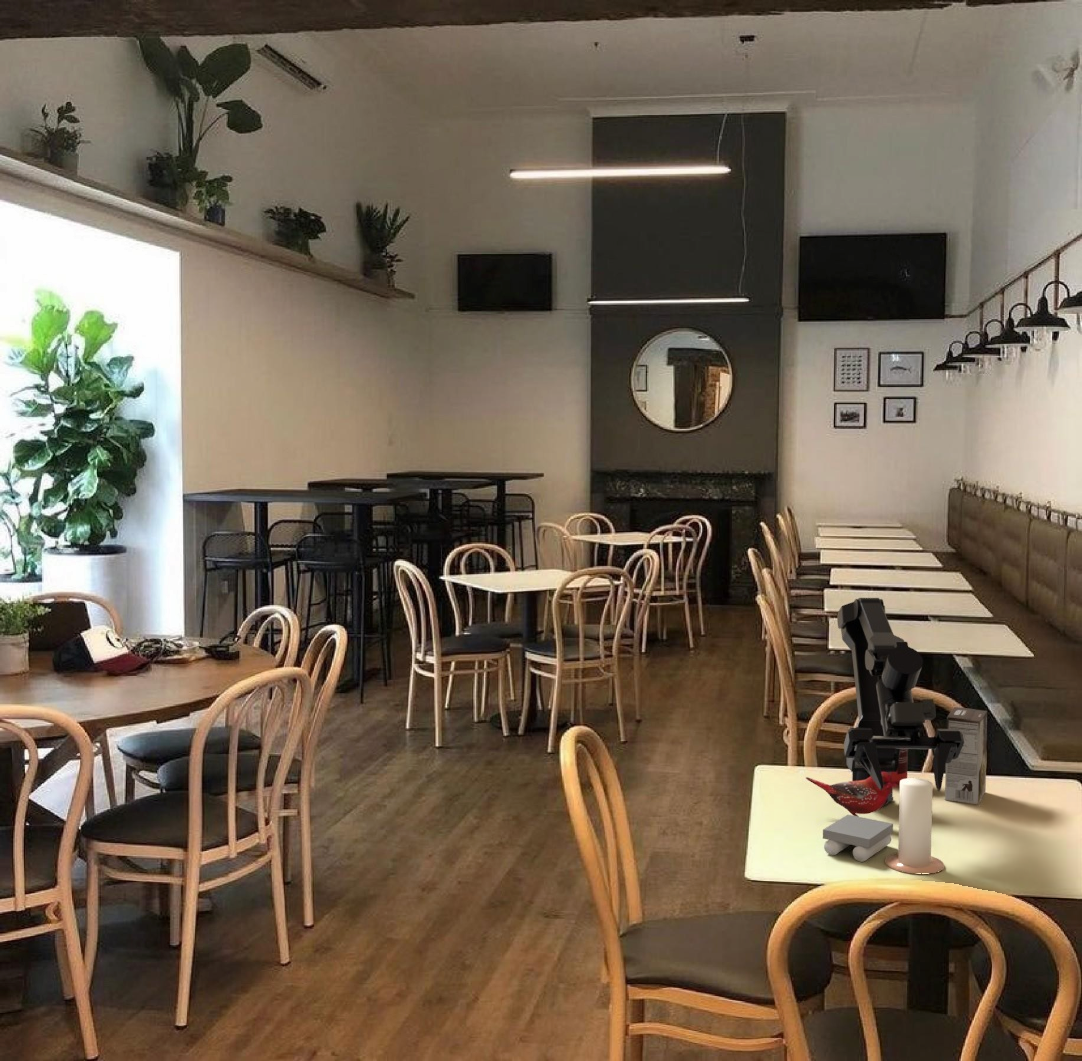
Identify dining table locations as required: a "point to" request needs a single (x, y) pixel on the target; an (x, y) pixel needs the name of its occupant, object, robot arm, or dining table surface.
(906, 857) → the post
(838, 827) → the slab on rollers
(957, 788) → the coffee box
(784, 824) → the dining table surface
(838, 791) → the decorative bird figurine
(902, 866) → the pad
